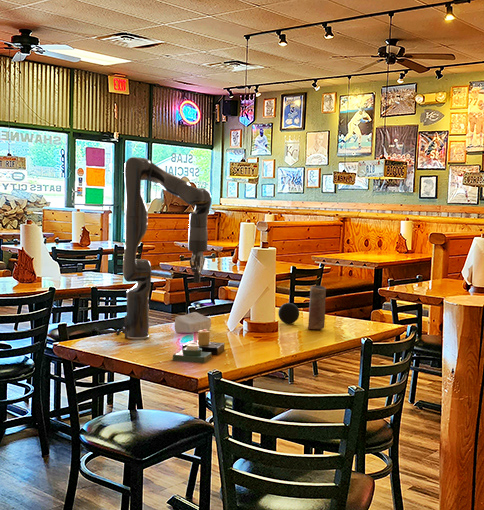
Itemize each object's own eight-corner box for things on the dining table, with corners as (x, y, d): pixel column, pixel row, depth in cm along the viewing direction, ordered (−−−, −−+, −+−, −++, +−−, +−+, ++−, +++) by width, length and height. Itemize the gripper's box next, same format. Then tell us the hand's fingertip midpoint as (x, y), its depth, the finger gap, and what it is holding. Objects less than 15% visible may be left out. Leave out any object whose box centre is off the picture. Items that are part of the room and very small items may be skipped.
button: (185, 350, 254) (185, 345, 254) (189, 348, 258) (189, 343, 258) (196, 351, 253) (196, 346, 253) (199, 349, 257) (199, 344, 257)
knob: (207, 345, 267) (208, 331, 266) (196, 344, 268) (196, 331, 267) (210, 343, 271) (210, 329, 271) (199, 342, 272) (199, 329, 272)
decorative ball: (303, 323, 335) (303, 303, 335) (289, 326, 329) (289, 305, 328) (287, 321, 343) (288, 300, 342) (273, 323, 336) (274, 302, 335)
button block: (172, 360, 253) (172, 350, 253) (180, 355, 262) (180, 345, 262) (204, 363, 250) (204, 352, 250) (211, 358, 259) (211, 347, 259)
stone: (212, 330, 317) (212, 312, 313) (185, 346, 306) (185, 327, 301) (195, 321, 324) (195, 303, 319) (168, 337, 312) (168, 318, 307)
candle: (323, 328, 325) (325, 285, 323) (325, 331, 317) (327, 287, 316) (307, 327, 325) (308, 285, 323) (308, 330, 318) (310, 287, 316)
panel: (182, 353, 267) (182, 344, 266) (190, 347, 276) (190, 340, 276) (217, 355, 263) (217, 347, 263) (224, 350, 273) (224, 342, 272)
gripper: (194, 237, 283) (193, 280, 284) (183, 239, 270) (182, 283, 271) (211, 238, 281) (210, 281, 282) (201, 240, 268) (200, 285, 269)
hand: (196, 282), depth 277 cm, fingers closed
